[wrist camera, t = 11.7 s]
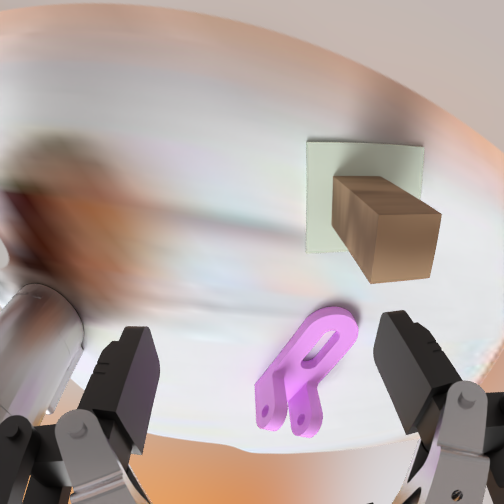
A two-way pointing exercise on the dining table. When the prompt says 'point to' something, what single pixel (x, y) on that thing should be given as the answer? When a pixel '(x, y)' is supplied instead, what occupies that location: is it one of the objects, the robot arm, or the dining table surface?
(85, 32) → the dining table surface
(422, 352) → the robot arm
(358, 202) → the walnut block
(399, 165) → the mat
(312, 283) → the dining table surface
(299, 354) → the bracket
